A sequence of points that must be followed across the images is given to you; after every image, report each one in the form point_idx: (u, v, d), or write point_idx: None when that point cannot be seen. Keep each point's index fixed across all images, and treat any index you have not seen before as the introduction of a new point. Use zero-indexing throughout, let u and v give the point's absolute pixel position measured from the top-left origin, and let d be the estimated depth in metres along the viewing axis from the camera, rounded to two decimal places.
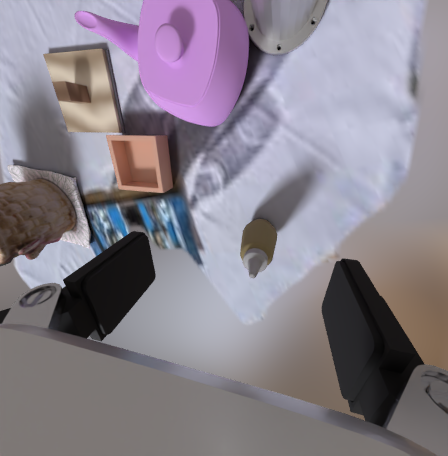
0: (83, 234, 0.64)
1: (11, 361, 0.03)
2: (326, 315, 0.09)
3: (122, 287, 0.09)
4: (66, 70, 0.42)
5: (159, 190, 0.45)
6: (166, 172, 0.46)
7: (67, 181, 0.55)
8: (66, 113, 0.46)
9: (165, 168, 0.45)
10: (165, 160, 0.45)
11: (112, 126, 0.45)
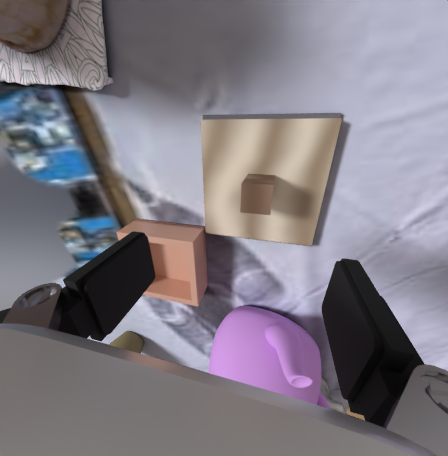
0: None
1: (11, 361, 0.03)
2: (326, 315, 0.09)
3: (122, 287, 0.09)
4: (301, 167, 0.22)
5: None
6: None
7: (93, 70, 0.22)
8: (234, 132, 0.22)
9: None
10: None
11: (213, 224, 0.28)
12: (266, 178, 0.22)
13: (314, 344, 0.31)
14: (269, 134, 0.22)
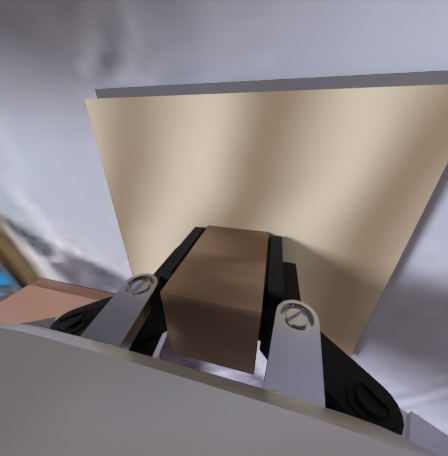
0: None
1: (11, 361, 0.03)
2: None
3: None
4: (336, 218, 0.09)
5: None
6: None
7: None
8: (166, 132, 0.09)
9: None
10: None
11: None
12: (245, 253, 0.08)
13: None
14: (253, 136, 0.08)
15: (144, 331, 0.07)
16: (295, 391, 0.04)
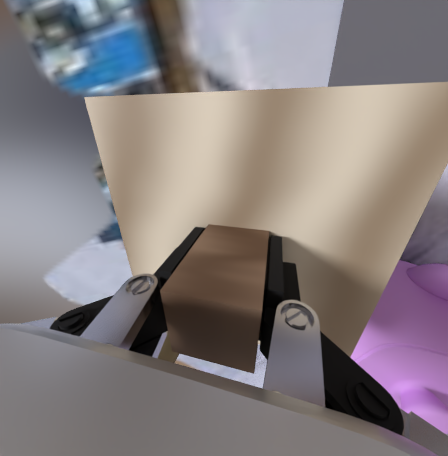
0: None
1: (11, 361, 0.03)
2: None
3: None
4: (336, 217, 0.09)
5: None
6: None
7: None
8: (166, 130, 0.09)
9: None
10: None
11: None
12: (246, 252, 0.08)
13: None
14: (254, 134, 0.08)
15: (144, 331, 0.07)
16: (295, 391, 0.04)
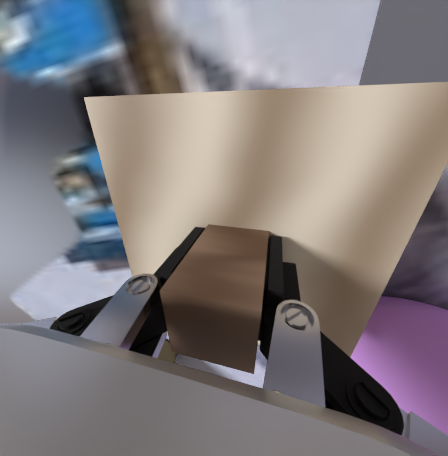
0: None
1: (11, 361, 0.03)
2: None
3: None
4: (336, 217, 0.09)
5: None
6: None
7: None
8: (166, 130, 0.09)
9: None
10: None
11: None
12: (245, 252, 0.08)
13: None
14: (253, 134, 0.08)
15: (144, 331, 0.07)
16: (295, 391, 0.04)
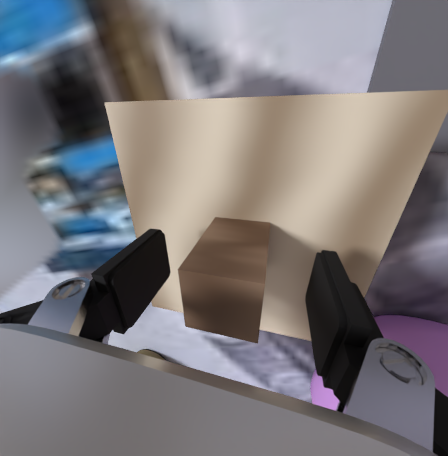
0: None
1: (11, 361, 0.03)
2: (308, 303, 0.09)
3: (142, 282, 0.09)
4: (330, 209, 0.10)
5: None
6: None
7: None
8: (178, 132, 0.10)
9: None
10: None
11: (162, 295, 0.16)
12: (250, 239, 0.09)
13: None
14: (256, 135, 0.09)
15: (84, 334, 0.07)
16: None
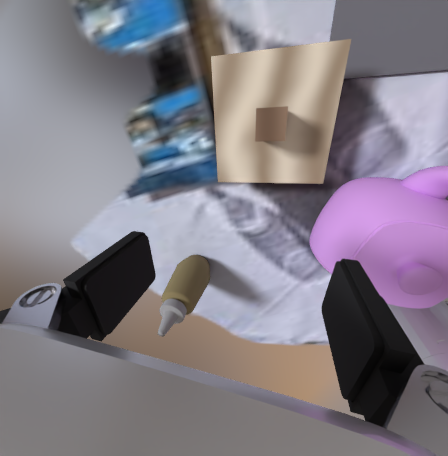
0: None
1: (11, 361, 0.03)
2: (326, 315, 0.09)
3: (122, 287, 0.09)
4: (311, 97, 0.23)
5: None
6: None
7: None
8: (245, 67, 0.23)
9: None
10: None
11: (225, 171, 0.29)
12: None
13: None
14: (279, 65, 0.22)
15: None
16: None
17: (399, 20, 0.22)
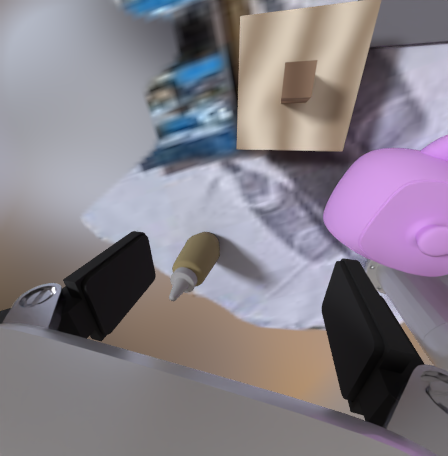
0: None
1: (11, 361, 0.03)
2: (326, 315, 0.09)
3: (122, 287, 0.09)
4: (337, 59, 0.23)
5: None
6: None
7: None
8: (273, 27, 0.23)
9: None
10: None
11: (245, 137, 0.29)
12: None
13: None
14: (308, 25, 0.23)
15: None
16: None
17: None
